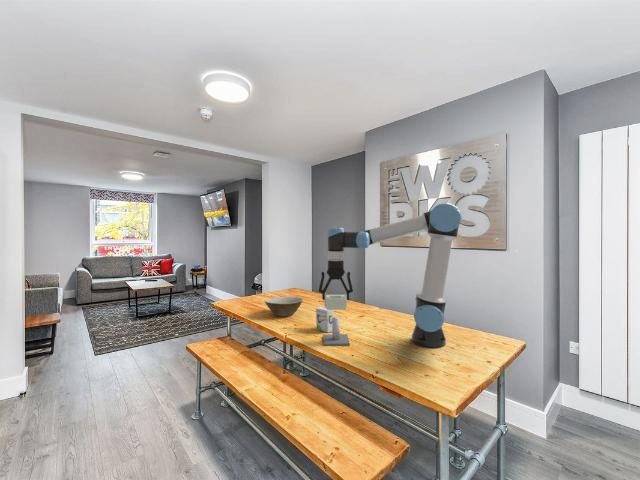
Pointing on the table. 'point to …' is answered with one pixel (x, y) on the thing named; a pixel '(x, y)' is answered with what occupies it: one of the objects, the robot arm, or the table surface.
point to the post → (336, 335)
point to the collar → (335, 302)
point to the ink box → (324, 319)
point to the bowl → (284, 305)
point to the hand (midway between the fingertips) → (335, 306)
